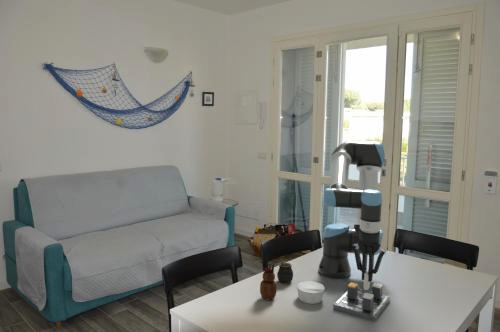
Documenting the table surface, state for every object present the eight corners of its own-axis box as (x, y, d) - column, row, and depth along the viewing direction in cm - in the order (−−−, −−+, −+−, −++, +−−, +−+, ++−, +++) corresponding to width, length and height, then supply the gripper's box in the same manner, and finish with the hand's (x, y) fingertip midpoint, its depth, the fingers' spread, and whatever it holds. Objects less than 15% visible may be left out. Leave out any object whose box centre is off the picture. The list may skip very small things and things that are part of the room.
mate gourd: (285, 286, 171) (285, 264, 170) (273, 281, 177) (273, 259, 176) (296, 282, 176) (296, 260, 175) (284, 277, 182) (284, 256, 181)
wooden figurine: (278, 296, 161) (279, 261, 159) (274, 302, 155) (275, 266, 154) (262, 294, 163) (263, 259, 161) (258, 300, 158) (258, 264, 156)
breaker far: (371, 297, 157) (372, 285, 156) (374, 294, 160) (375, 282, 159) (379, 299, 155) (380, 287, 154) (382, 295, 158) (382, 284, 157)
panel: (333, 309, 151) (333, 303, 151) (351, 291, 167) (351, 286, 167) (374, 321, 142) (375, 315, 142) (389, 301, 159) (389, 296, 158)
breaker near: (362, 308, 147) (362, 295, 146) (365, 305, 150) (365, 292, 149) (370, 310, 145) (370, 298, 144) (373, 307, 148) (373, 294, 147)
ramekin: (307, 307, 152) (307, 294, 152) (291, 296, 162) (291, 283, 161) (330, 302, 157) (330, 289, 157) (313, 291, 167) (313, 279, 167)
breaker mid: (347, 297, 156) (347, 285, 156) (350, 294, 159) (350, 282, 159) (354, 299, 154) (355, 287, 154) (357, 296, 157) (358, 284, 157)
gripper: (349, 229, 151) (347, 287, 154) (384, 236, 144) (380, 296, 147) (356, 225, 157) (353, 280, 161) (389, 231, 150) (386, 289, 153)
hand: (366, 288), depth 154 cm, fingers closed
